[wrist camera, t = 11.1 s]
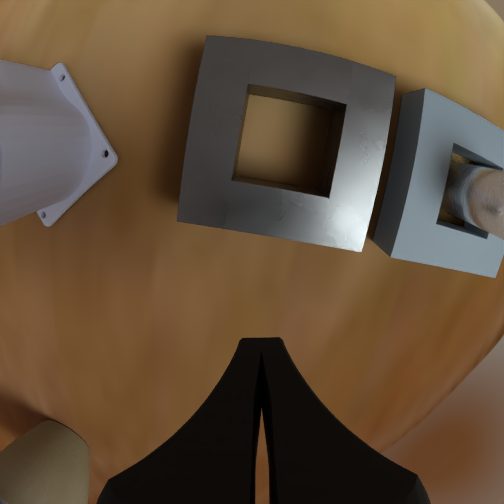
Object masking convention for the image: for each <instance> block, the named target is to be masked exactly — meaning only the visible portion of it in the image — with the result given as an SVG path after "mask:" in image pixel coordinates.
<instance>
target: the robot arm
mask: <svg viewBox="0 0 504 504" xmlns="http://www.w3.org/2000/svg"><path fill="white" fill-rule="evenodd" d="M64 76H65V79H64V80H63V81H62V79H63V77H64ZM106 150H107V151H108V153H109V154H108V157H105V155H104V153H105V151H106ZM117 162H118V157H117V154H116V153H115V151H114V150H113V148H112V146H111V145H110V143H109V141H108V140H107V138H106V136H105V135H104V133H103V131H102V130H101V128H100V126H99V125H98V123H97V121H96V120H95V118H94V116H93V114H92V113H91V111H90V109H89V107H88V106H87V104H86V102H85V100H84V99H83V97H82V95H81V93H80V92H79V90H78V88H77V86H76V84H75V83H74V81H73V79H72V77H71V75H70V73H69V71H68V70H67V68H66V66H65V64H64V63H57V64H56V65H55V66H54V67H53V68H52V69H51V70H50V71H49V70H46V69H42V68H37V67H33V66H29V65H24V64H20V63H15V62H10V61H5V60H0V227H1V226H3V225H5V224H7V223H10V222H12V221H14V220H17V219H19V218H21V217H24V216H26V215H28V214H31V213H33V212H37V214H38V215H39V217H40V219H41V220H42V222H43V224H44V225H45V226H46V227H49V226H51V225H53V224H54V223H55V222H56V221H57V220H58V218H59V217H60V216H61V215H62V214H63V213H64V212H65V211H66V210H67V209H68V208H69V207H70V206H71V205H72V204H74V203H75V202H76V201H77V200H78V199H79V198H80V197H81V196H82V195H83V194H84V193H85V192H86V191H87V190H88V189H89V188H90V187H92V186H93V185H94V184H95V183H96V182H97V181H98V180H99V179H100V178H102V177H103V176H104V175H105V174H106V173H107V172H108V171H110V170H111V169H112V168H113V167H114V166H115V165H116V164H117ZM44 212H45V214H46V217H45V215H44ZM261 408H262V413H263V421H264V429H265V437H266V445H267V453H268V463H269V503H270V504H431V503H430V500H429V497H428V494H427V492H426V490H425V488H424V486H423V484H422V482H421V481H420V479H419V477H418V475H417V474H415V473H413V472H411V471H409V470H407V469H405V468H403V467H401V466H400V465H398V464H396V463H394V462H393V461H391V460H389V459H387V458H386V457H384V456H383V455H381V454H380V453H378V452H377V451H375V450H374V449H373V448H371V447H370V446H369V445H367V444H366V443H365V442H363V441H362V440H361V439H360V438H358V437H357V436H356V435H355V434H353V433H352V432H351V431H350V430H349V429H347V428H346V427H345V426H344V425H343V424H342V423H341V422H340V421H339V420H338V419H337V418H336V417H335V416H334V415H333V414H332V413H331V412H330V411H329V410H328V409H327V408H326V407H325V405H324V404H323V403H322V402H321V401H320V400H319V398H318V397H317V396H316V395H315V393H314V392H313V391H312V389H311V388H310V387H309V385H308V384H307V383H306V381H305V380H304V378H303V377H302V375H301V374H300V372H299V371H298V369H297V368H296V366H295V364H294V363H293V361H292V359H291V357H290V355H289V353H288V352H287V349H286V347H285V345H284V342H283V340H282V339H281V338H280V337H273V338H242V339H241V340H240V341H239V344H238V347H237V349H236V352H235V354H234V356H233V358H232V360H231V362H230V364H229V365H228V367H227V369H226V371H225V372H224V374H223V376H222V377H221V379H220V381H219V382H218V384H217V385H216V386H215V388H214V389H213V391H212V392H211V394H210V395H209V396H208V398H207V399H206V400H205V402H204V403H203V404H202V405H201V407H200V408H199V409H198V410H197V411H196V412H195V413H194V415H193V416H192V417H191V418H190V419H189V420H188V421H187V422H186V423H185V424H184V425H183V426H182V427H181V428H180V429H179V430H178V431H177V432H176V433H175V434H174V435H173V436H172V437H170V438H169V439H168V440H167V441H166V442H164V443H163V444H162V445H161V446H159V447H158V448H157V449H156V450H154V451H153V452H152V453H150V454H149V455H148V456H146V457H145V458H144V459H142V460H141V461H139V462H138V463H136V464H134V465H133V466H131V467H129V468H128V469H126V470H124V471H123V472H121V473H119V474H117V475H116V476H114V477H112V478H110V479H109V480H108V481H107V483H106V485H105V487H104V489H103V490H102V492H101V494H100V496H99V498H98V501H97V504H255V468H256V455H257V446H258V437H259V428H260V418H261ZM0 504H8V503H7V502H5V501H4V500H2V499H1V498H0Z"/></svg>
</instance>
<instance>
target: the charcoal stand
mask: <svg viewBox="0 0 504 504" xmlns="http://www.w3.org/2000/svg"><path fill="white" fill-rule="evenodd" d="M395 82H396V76H394V75H392V74H389V73H386V72H384V71H381V70H378V69H375V68H372V67H369V66H366V65H363V64H360V63H357V62H354V61H350V60H347V59H343V58H340V57H336V56H333V55H329V54H325V53H321V52H317V51H313V50H308V49H304V48H299V47H294V46H289V45H284V44H278V43H272V42H266V41H259V40H251V39H243V38H234V37H223V36H210V35H207V37H206V41H205V46H204V50H203V55H202V60H201V64H200V69H199V74H198V79H197V84H196V89H195V95H194V100H193V106H192V112H191V118H190V124H189V130H188V136H187V143H186V150H185V157H184V164H183V172H182V180H181V188H180V197H179V206H178V215H177V222H184V223H190V224H197V225H203V226H210V227H216V228H222V229H229V230H235V231H241V232H247V233H253V234H259V235H265V236H271V237H277V238H283V239H289V240H295V241H301V242H307V243H313V244H318V245H324V246H330V247H335V248H341V249H347V250H352V251H358V252H361V251H362V248H363V244H364V240H365V237H366V233H367V229H368V225H369V222H370V218H371V214H372V209H373V205H374V201H375V197H376V192H377V188H378V183H379V179H380V174H381V169H382V164H383V159H384V154H385V149H386V143H387V138H388V132H389V126H390V119H391V113H392V106H393V98H394V90H395ZM249 94H252V95H258V96H264V97H270V98H276V99H281V100H287V101H292V102H297V103H301V104H306V105H311V106H315V107H319V108H323V109H327V110H331V111H332V117H331V123H330V129H329V134H328V140H327V145H326V151H325V156H324V161H323V166H322V171H321V176H320V181H319V186H318V190H315V189H310V188H305V187H300V186H294V185H289V184H284V183H278V182H273V181H267V180H261V179H255V178H249V177H243V176H236V168H237V162H238V156H239V150H240V144H241V138H242V132H243V127H244V121H245V115H246V109H247V104H248V98H249Z"/></svg>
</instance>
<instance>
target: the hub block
mask: <svg viewBox="0 0 504 504" xmlns="http://www.w3.org/2000/svg"><path fill="white" fill-rule="evenodd" d="M452 152H454V153H456V154H459V155H461V156H463V157H465V158H467V159H469V160H472V161H474V162H476V163H478V164H477V166H481V167H486V168H491V169H496V170H500V171H504V131H503V130H501V129H500V128H498V127H497V126H495V125H494V124H492V123H490V122H489V121H487V120H486V119H484V118H482V117H480V116H479V115H477V114H475V113H474V112H472V111H470V110H468V109H466V108H465V107H463V106H461V105H459V104H457V103H455V102H453V101H451V100H449V99H447V98H445V97H443V96H441V95H439V94H437V93H435V92H433V91H431V90H429V89H426V88H423V89H420V90H416V91H413V92H409V93H406V94H402V100H401V107H400V115H399V121H398V128H397V134H396V140H395V145H394V151H393V156H392V161H391V166H390V171H389V176H388V181H387V185H386V190H385V194H384V198H383V203H382V207H381V211H380V215H379V219H378V223H377V227H376V230H375V234H374V238H373V242H374V243H375V244H376V245H378V246H379V247H380V248H381V249H382V250H383V251H384V252H385V253H386V254H388V255H389V256H390V257H392V258H397V259H403V260H408V261H413V262H418V263H424V264H429V265H434V266H439V267H444V268H449V269H454V270H459V271H464V272H469V273H474V274H479V275H484V276H489V277H493V278H495V277H496V275H497V272H498V269H499V266H500V264H501V261H502V258H503V255H504V240H502V239H501V238H499V237H497V236H495V235H493V234H491V233H489V232H487V231H485V230H483V229H481V228H479V227H477V226H475V225H472V224H470V223H468V222H466V221H465V223H464V226H463V227H461V226H458V225H454V224H451V223H448V222H445V221H441V220H438V219H437V218H438V214H439V210H440V207H441V202H442V198H443V194H444V190H445V185H446V180H447V176H448V170H449V165H450V160H451V154H452Z"/></svg>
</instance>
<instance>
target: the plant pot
mask: <svg viewBox="0 0 504 504" xmlns="http://www.w3.org/2000/svg"><path fill="white" fill-rule="evenodd" d="M88 485H89V448H88V446H87V444H86V443H85V442H84V441H83V440H82V439H81V438H80V437H79V436H78V435H77V434H76V433H74V432H73V431H72V430H70V429H69V428H67V427H65V426H64V425H62V424H60V423H58V422H55V421H52V420H45V421H43V422H42V423H40V424H38V425H37V426H35V427H33V428H32V429H30V430H29V431H27V432H26V433H24V434H23V435H21V436H20V437H19V438H17V439H16V440H15V441H13V442H12V443H11V444H9V445H8V446H7V447H6V448H5V449H4V450H2V451H1V452H0V498H1V499H2V500H4V501H5V502H7V503H8V504H88Z"/></svg>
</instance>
